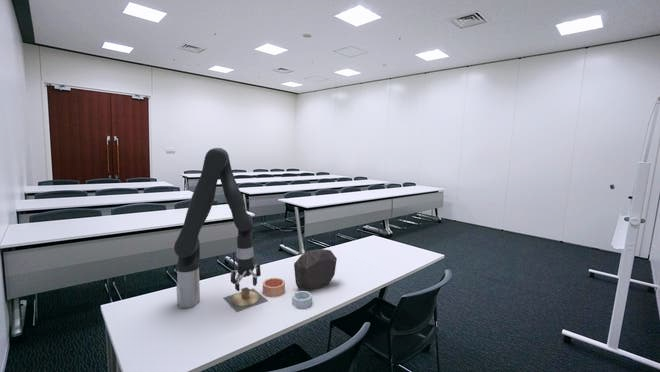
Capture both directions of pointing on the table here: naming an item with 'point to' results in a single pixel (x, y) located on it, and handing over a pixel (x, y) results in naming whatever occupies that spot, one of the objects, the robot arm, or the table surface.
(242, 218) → the robot arm
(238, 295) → the lid
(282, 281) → the bowl
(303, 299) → the small bowl
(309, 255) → the decorative stone
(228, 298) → the mat
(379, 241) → the table surface
